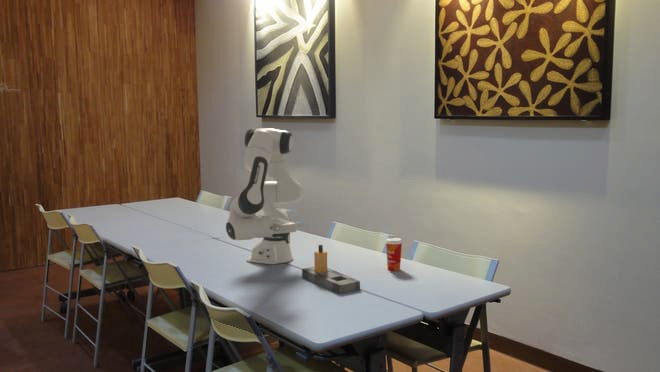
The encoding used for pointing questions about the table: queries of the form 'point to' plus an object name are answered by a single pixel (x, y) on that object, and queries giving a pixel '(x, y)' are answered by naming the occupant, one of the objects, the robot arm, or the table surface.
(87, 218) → the table surface
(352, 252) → the table surface
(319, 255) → the plug
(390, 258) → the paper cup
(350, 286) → the grey socket board
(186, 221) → the table surface
